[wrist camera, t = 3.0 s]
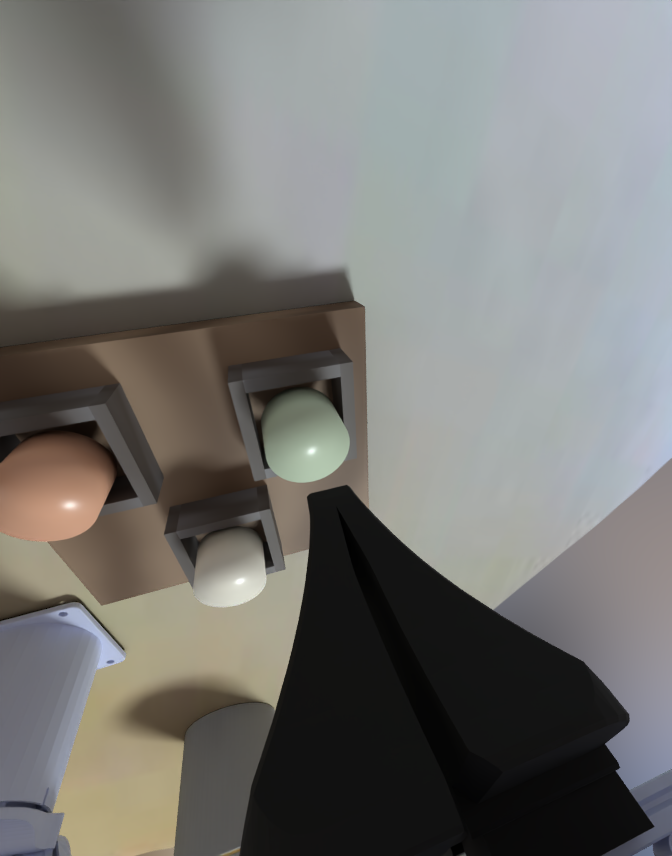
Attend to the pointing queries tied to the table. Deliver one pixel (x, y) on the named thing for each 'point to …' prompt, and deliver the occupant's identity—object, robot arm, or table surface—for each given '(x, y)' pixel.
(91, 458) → the peach domed piece
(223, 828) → the coffee mug
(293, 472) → the sage key
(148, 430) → the key panel
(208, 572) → the cream key
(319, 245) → the table surface
